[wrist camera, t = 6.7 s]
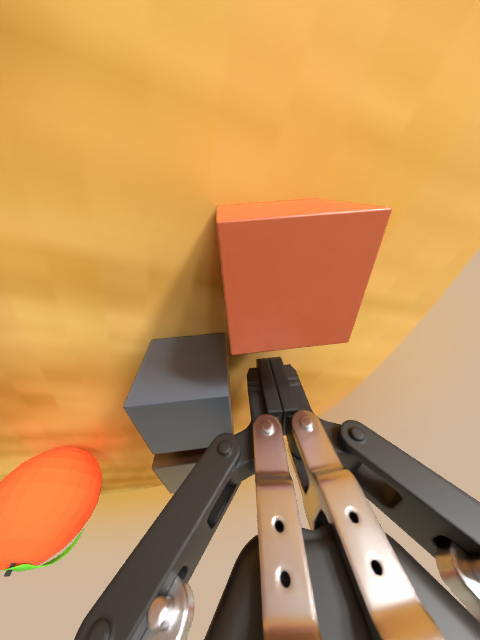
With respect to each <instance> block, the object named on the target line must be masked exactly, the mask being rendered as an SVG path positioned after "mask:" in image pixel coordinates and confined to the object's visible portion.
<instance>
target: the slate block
mask: <svg viewBox="0 0 480 640" xmlns="http://www.w3.org/2000/svg"><path fill="white" fill-rule="evenodd" d="M123 408H124V409H125V411H126V413H127V414H128V416H129V417H130V419H131V420H132V422H133V424H134V425H135V427H136V428H137V430H138V431H139V433H140V435H141V436H142V438H143V439H144V441H145V442H146V444H147V445H148V447H149V449H150V450H151V452H152V453H153V454H160V453H168V452H176V451H184V450H192V449H200V448H208V447H209V445H210V444H211V443H212V441H213V440H214V439H215V437H217V436H218V435H219V434H222V433H231V434H233V435H234V430H233V415H232V400H231V385H230V374H229V364H228V355H227V345H226V335H225V333H219V334H208V335H197V336H186V337H175V338H164V339H153V340H151V342H150V345H149V347H148V349H147V352H146V354H145V356H144V359H143V361H142V363H141V366H140V368H139V370H138V373H137V375H136V378H135V380H134V382H133V385H132V387H131V389H130V392H129V394H128V396H127V399H126V401H125V403H124V406H123Z"/></svg>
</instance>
